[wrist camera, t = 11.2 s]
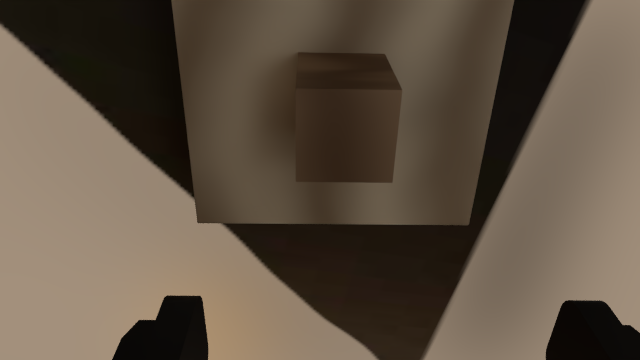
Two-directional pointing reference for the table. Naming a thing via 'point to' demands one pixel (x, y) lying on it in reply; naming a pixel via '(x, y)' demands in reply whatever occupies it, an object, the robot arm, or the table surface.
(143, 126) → the table surface
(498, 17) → the lid
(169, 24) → the table surface
